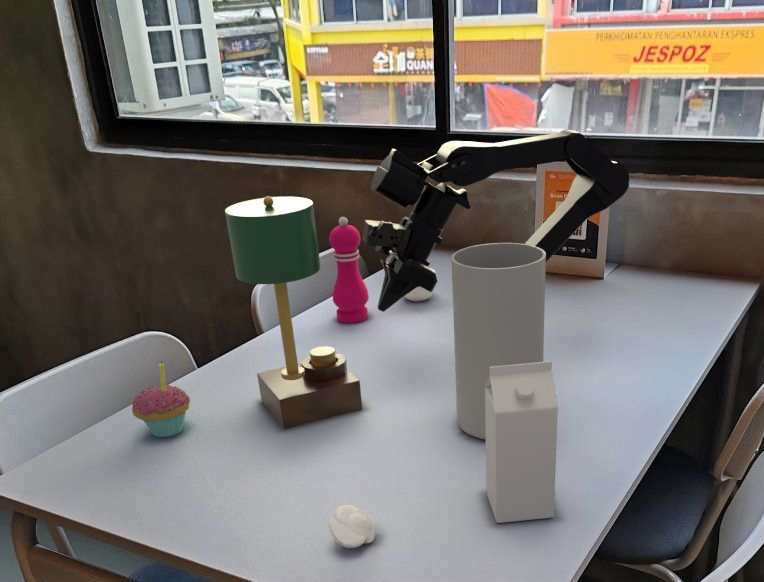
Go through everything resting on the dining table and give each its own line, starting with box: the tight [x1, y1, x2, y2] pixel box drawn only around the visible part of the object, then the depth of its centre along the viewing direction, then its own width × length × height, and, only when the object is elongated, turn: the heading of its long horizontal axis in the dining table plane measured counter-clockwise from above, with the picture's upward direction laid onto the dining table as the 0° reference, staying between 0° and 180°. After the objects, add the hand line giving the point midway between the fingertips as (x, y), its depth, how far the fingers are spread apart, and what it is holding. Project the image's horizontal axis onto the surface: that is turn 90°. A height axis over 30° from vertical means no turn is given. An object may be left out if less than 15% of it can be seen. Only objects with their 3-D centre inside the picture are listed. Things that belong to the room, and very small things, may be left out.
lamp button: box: [309, 345, 336, 367], centre depth 130 cm, size 4×4×2 cm
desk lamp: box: [224, 195, 321, 380], centre depth 119 cm, size 12×12×26 cm
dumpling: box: [328, 504, 377, 549], centre depth 98 cm, size 7×5×4 cm
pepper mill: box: [328, 216, 370, 324], centre depth 162 cm, size 7×7×20 cm
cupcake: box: [131, 358, 191, 438], centre depth 125 cm, size 9×8×12 cm
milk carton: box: [485, 360, 559, 524], centre depth 98 cm, size 7×7×19 cm
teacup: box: [404, 268, 436, 302], centre depth 175 cm, size 10×8×5 cm
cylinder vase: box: [451, 242, 547, 441], centre depth 116 cm, size 12×12×25 cm
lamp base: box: [256, 352, 363, 430], centre depth 131 cm, size 13×12×7 cm
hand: (380, 310), depth 134 cm, fingers closed
